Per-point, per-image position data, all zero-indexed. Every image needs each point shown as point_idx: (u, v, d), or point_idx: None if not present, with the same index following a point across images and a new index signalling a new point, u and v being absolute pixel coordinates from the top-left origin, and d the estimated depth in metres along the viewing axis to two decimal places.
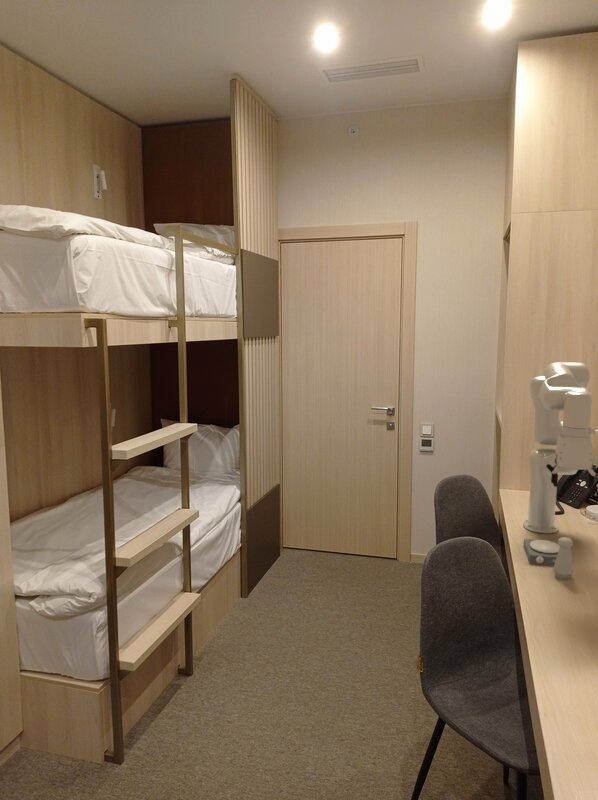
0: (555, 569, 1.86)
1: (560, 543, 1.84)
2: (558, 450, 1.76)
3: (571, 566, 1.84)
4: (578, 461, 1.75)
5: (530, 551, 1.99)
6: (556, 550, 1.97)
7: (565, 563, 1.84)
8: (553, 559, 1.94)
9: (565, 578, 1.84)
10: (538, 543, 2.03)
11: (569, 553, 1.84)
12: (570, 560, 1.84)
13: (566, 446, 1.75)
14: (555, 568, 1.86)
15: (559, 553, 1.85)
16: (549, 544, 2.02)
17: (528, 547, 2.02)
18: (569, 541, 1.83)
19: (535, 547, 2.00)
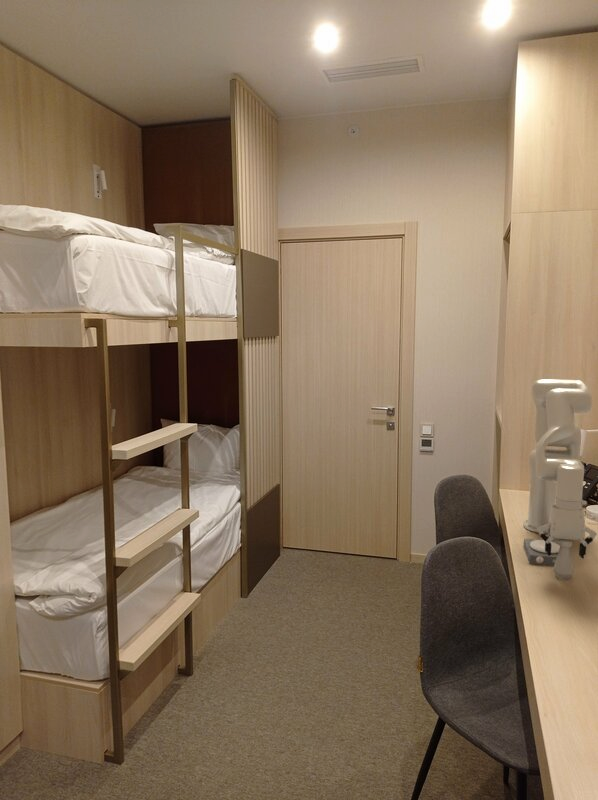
0: (555, 569, 1.86)
1: (561, 543, 1.84)
2: (551, 521, 1.83)
3: (571, 566, 1.84)
4: (571, 532, 1.81)
5: (530, 551, 1.99)
6: (556, 550, 1.97)
7: (565, 563, 1.84)
8: (553, 559, 1.94)
9: (565, 578, 1.84)
10: (538, 543, 2.03)
11: (569, 553, 1.84)
12: (570, 560, 1.84)
13: (559, 517, 1.81)
14: (555, 568, 1.86)
15: (559, 553, 1.85)
16: None
17: (528, 547, 2.02)
18: (569, 541, 1.83)
19: (535, 547, 2.00)
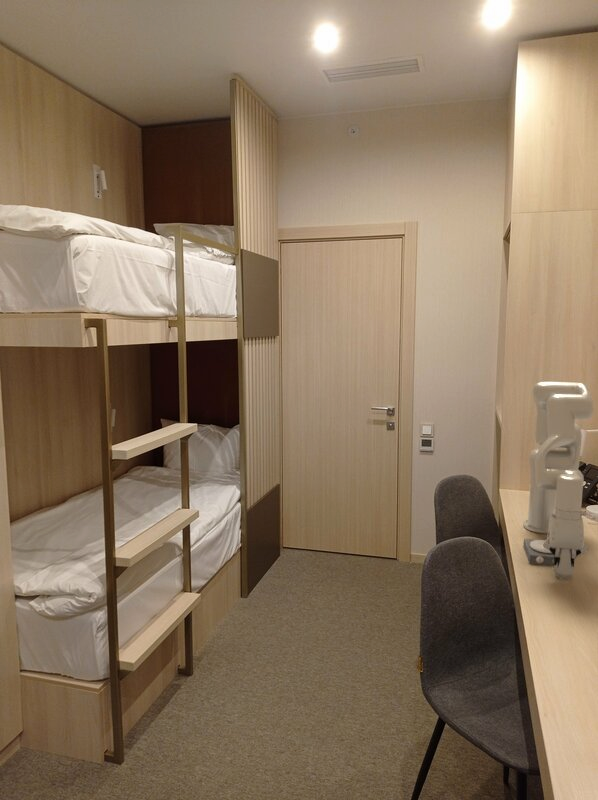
0: (555, 569, 1.86)
1: None
2: (551, 530, 1.84)
3: None
4: (570, 541, 1.82)
5: (530, 551, 1.99)
6: None
7: (565, 563, 1.83)
8: (553, 559, 1.94)
9: (565, 578, 1.84)
10: (538, 543, 2.03)
11: (569, 553, 1.84)
12: (570, 560, 1.84)
13: (558, 527, 1.82)
14: (555, 568, 1.86)
15: (559, 553, 1.85)
16: (549, 544, 2.02)
17: (528, 547, 2.02)
18: None
19: (535, 547, 2.00)
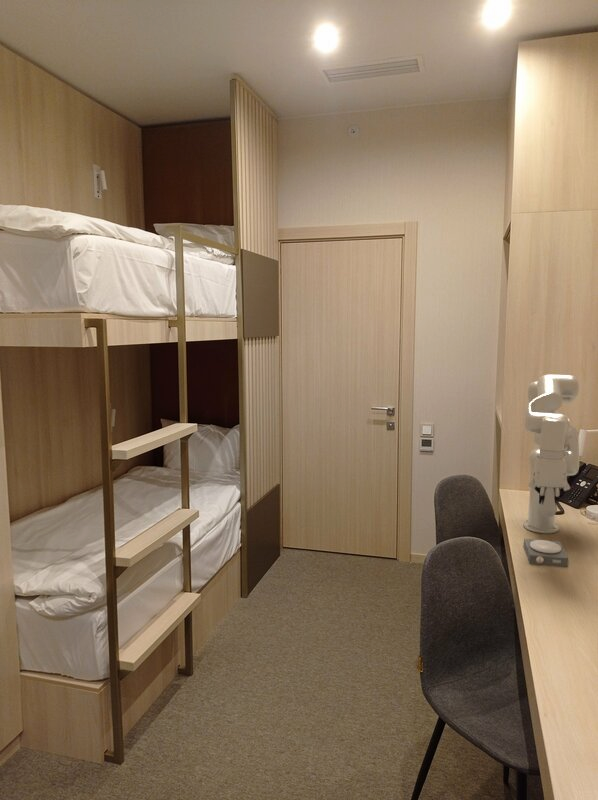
0: (540, 507, 1.98)
1: None
2: (536, 470, 1.96)
3: None
4: (553, 480, 1.95)
5: (530, 551, 1.99)
6: (556, 550, 1.97)
7: (550, 500, 1.96)
8: (553, 559, 1.94)
9: (549, 515, 1.97)
10: (538, 543, 2.03)
11: (553, 491, 1.96)
12: (554, 498, 1.96)
13: (542, 466, 1.95)
14: (540, 506, 1.98)
15: (544, 492, 1.98)
16: (549, 544, 2.02)
17: (528, 547, 2.02)
18: None
19: (535, 547, 2.00)
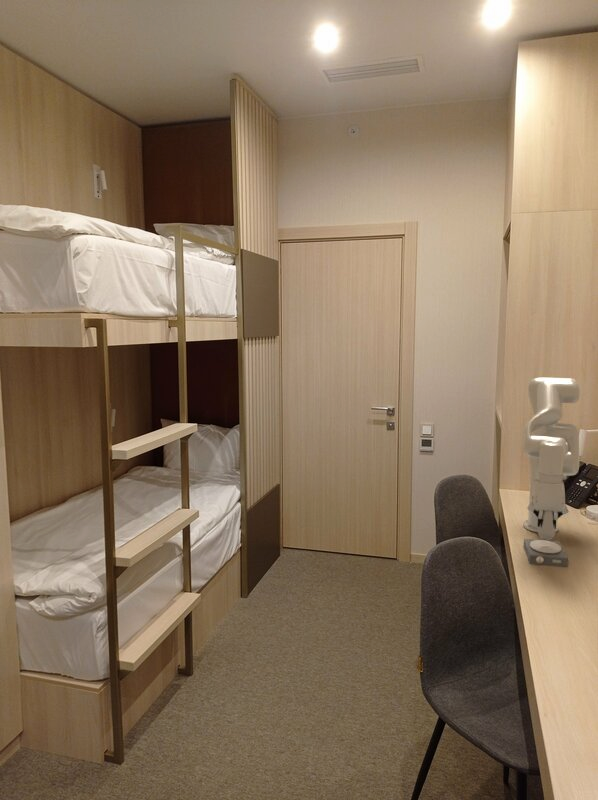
0: (538, 530, 1.99)
1: None
2: (534, 494, 1.98)
3: (553, 527, 1.98)
4: (552, 504, 1.96)
5: (530, 551, 1.99)
6: (556, 550, 1.97)
7: (548, 524, 1.97)
8: (553, 559, 1.94)
9: (548, 538, 1.98)
10: (538, 543, 2.03)
11: (551, 515, 1.98)
12: (552, 521, 1.98)
13: (541, 490, 1.96)
14: (539, 529, 1.99)
15: (542, 515, 1.99)
16: (549, 544, 2.02)
17: (528, 547, 2.02)
18: None
19: (535, 547, 2.00)
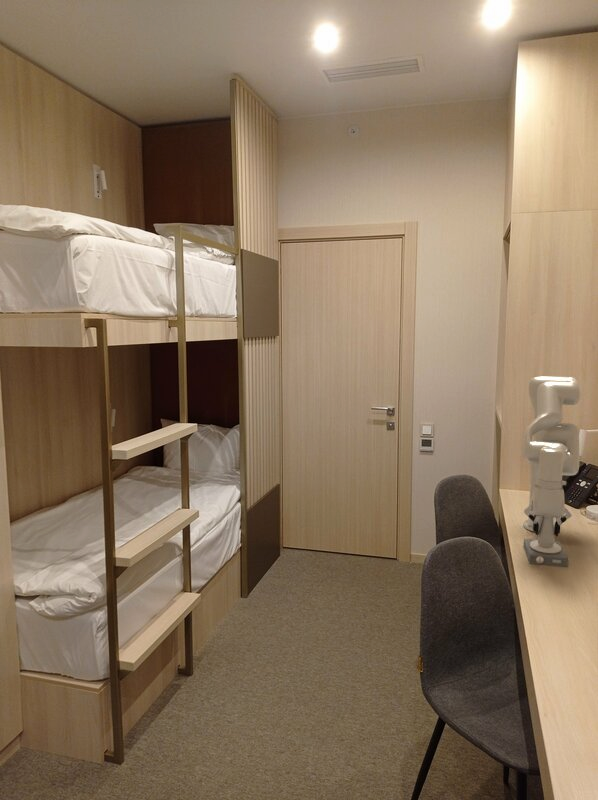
0: (538, 538, 2.00)
1: None
2: (534, 499, 1.98)
3: (553, 535, 1.98)
4: (551, 510, 1.96)
5: (530, 551, 1.99)
6: (556, 550, 1.97)
7: (547, 532, 1.98)
8: (553, 559, 1.94)
9: (547, 546, 1.99)
10: None
11: (551, 523, 1.98)
12: (552, 530, 1.98)
13: (540, 496, 1.96)
14: (538, 538, 2.00)
15: (542, 523, 2.00)
16: None
17: (528, 547, 2.02)
18: None
19: (535, 547, 2.00)
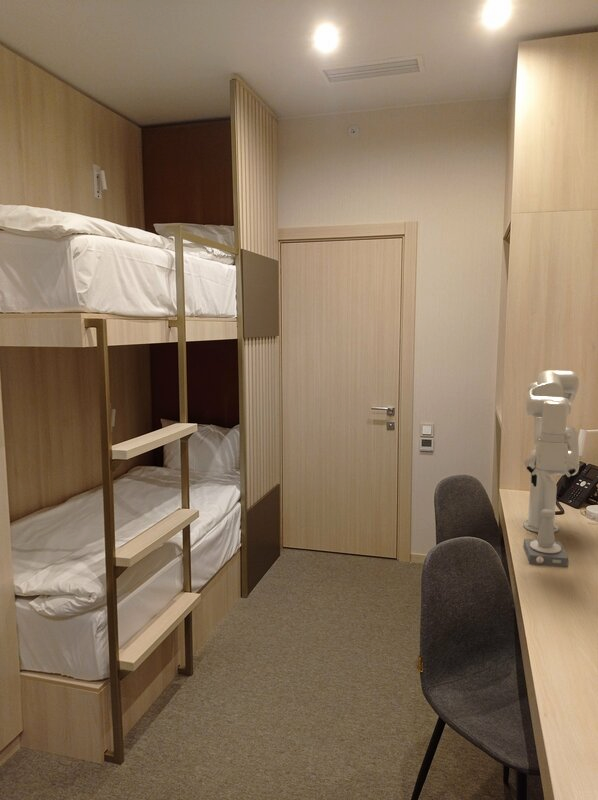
0: (538, 538, 2.00)
1: (543, 513, 1.98)
2: (537, 453, 1.95)
3: (553, 535, 1.98)
4: (555, 463, 1.94)
5: (530, 551, 1.99)
6: (556, 550, 1.97)
7: (547, 532, 1.98)
8: (553, 559, 1.94)
9: (547, 546, 1.99)
10: None
11: (551, 523, 1.98)
12: (552, 530, 1.98)
13: (544, 449, 1.94)
14: (538, 538, 2.00)
15: (541, 523, 2.00)
16: None
17: (528, 547, 2.02)
18: (551, 512, 1.97)
19: (535, 547, 2.00)
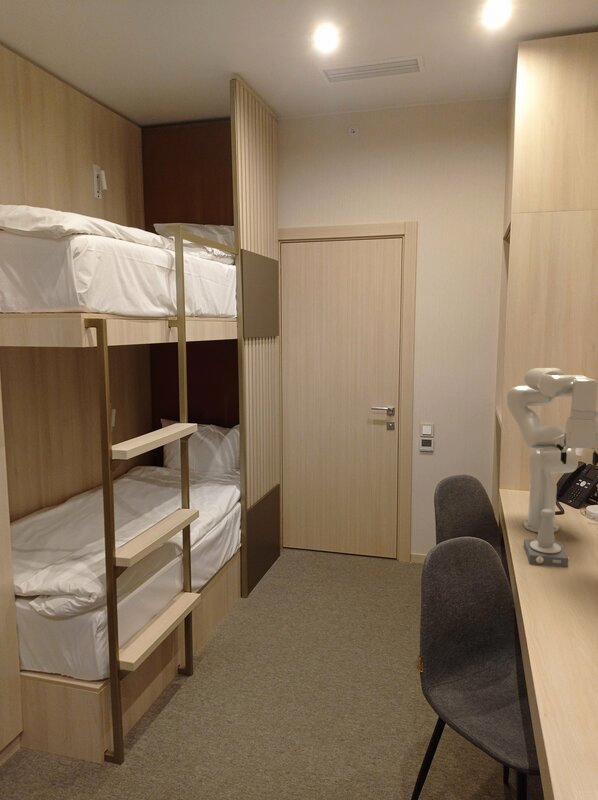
0: (538, 538, 2.00)
1: (543, 513, 1.98)
2: (567, 431, 1.97)
3: (553, 535, 1.98)
4: (585, 441, 1.95)
5: (530, 551, 1.99)
6: (556, 550, 1.97)
7: (547, 532, 1.98)
8: (553, 559, 1.94)
9: (547, 546, 1.99)
10: None
11: (551, 523, 1.98)
12: (552, 530, 1.98)
13: (574, 427, 1.95)
14: (538, 538, 2.00)
15: (542, 523, 2.00)
16: None
17: (528, 547, 2.02)
18: (551, 512, 1.97)
19: (535, 547, 2.00)
